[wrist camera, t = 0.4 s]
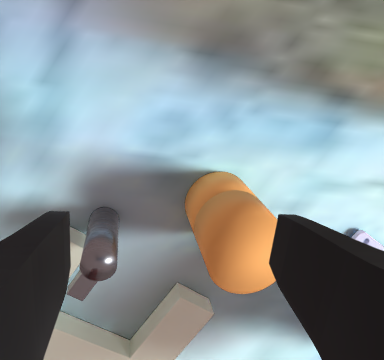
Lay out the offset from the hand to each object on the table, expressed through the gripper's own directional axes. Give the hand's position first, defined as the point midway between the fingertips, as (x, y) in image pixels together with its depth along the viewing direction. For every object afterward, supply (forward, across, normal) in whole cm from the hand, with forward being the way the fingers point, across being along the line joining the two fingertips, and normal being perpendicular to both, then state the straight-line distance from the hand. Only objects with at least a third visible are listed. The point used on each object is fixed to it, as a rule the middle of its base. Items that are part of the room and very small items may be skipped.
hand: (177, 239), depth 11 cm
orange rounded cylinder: (+10, -4, +3) cm, 11 cm away
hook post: (+10, +3, +4) cm, 11 cm away
